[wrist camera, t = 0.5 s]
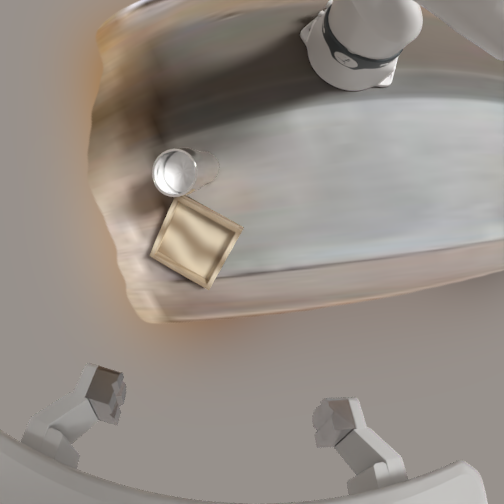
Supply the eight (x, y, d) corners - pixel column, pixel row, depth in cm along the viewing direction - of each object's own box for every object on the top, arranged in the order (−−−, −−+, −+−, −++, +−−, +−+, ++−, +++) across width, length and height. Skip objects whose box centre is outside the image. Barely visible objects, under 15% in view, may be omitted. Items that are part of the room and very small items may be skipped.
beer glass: (178, 164, 50) (141, 169, 35) (207, 141, 48) (178, 136, 34) (199, 193, 51) (170, 208, 37) (229, 171, 49) (209, 177, 35)
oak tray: (180, 192, 51) (175, 194, 49) (243, 227, 52) (241, 231, 50) (154, 251, 56) (149, 255, 53) (211, 284, 57) (208, 290, 54)
